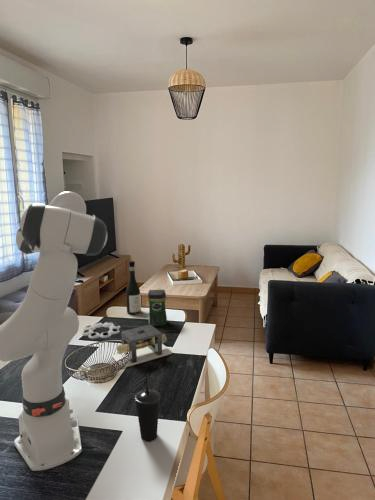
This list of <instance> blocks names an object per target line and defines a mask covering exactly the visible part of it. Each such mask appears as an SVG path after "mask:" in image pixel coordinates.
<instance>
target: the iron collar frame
mask: <svg viewBox="0 0 375 500" xmlns="http://www.w3.org/2000/svg"><path fill="white" fill-rule="evenodd" d="M162 334H163V333H162V332H161V331H160V330H159V329H157V328H156V327H155V326H152V325H150V324H146V325H143V326H142V325H141V326H138V327H134V328H131V329H127V330H125V329H124V330H122V331H121V345H123V344H127V343H128V344H129V354H130V361H131V362H132V363H135V362H137V354H136V342H138V341H142V340H145V339H149V338H153V337H155V345H153V346H149V348H150V349H151V350H152V351H153V352H154V353H156V354H157V355H158V356H159V355H162V344H163V343H162ZM124 354H125V355H127V354H128V352H127V353H124Z"/></svg>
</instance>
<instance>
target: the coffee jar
mask: <svg viewBox="0 0 375 500" xmlns="http://www.w3.org/2000/svg"><path fill="white" fill-rule="evenodd" d="M166 300H167V293H166V291H165V289H149V290H148V293H147V302H148V305H149V306H148V307H149V308H148V309H149V310H148V311H149V312H148V325H152V326H153V327H161V326H165V325H167V323H168V317H167V310H166Z"/></svg>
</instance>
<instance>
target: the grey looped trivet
mask: <svg viewBox="0 0 375 500" xmlns="http://www.w3.org/2000/svg"><path fill="white" fill-rule="evenodd" d="M97 328H100V329H101V328H108V329H109V330H108V331H103V332H101V333H99V332H98V331H97V332H96V331H95V332H94V330H96V329H97ZM119 329H121V326H120V325H118V324H117V323H113V322H112V321H105V322H104V323H102V322H95V323H93V324H92V325H87V326H85V327H84V328H83V331H82V333H81V335H82V336H88V338H89V339H92V340H93V339H99V338H101V339H108V338H110V337H111V336H112V335H116V334H117V335H118V334H119V333H120V330H119ZM114 330H115V331H114ZM104 334H106V335H104Z"/></svg>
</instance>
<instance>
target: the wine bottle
mask: <svg viewBox="0 0 375 500" xmlns="http://www.w3.org/2000/svg"><path fill="white" fill-rule="evenodd" d="M128 264H129V280H128V284H127V286H126V292H125V300H126V301H125V302H126V313H128V314H129V315H137V314H139V313H141V312H142V305H141V304H142V302H141V300H142V299H141V298H142V297H141V291H140V290H141V289H140V287H139V285H138V282H137V281H136V269H135V268H136V267H135V261H134V260H129V261H128Z"/></svg>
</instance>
